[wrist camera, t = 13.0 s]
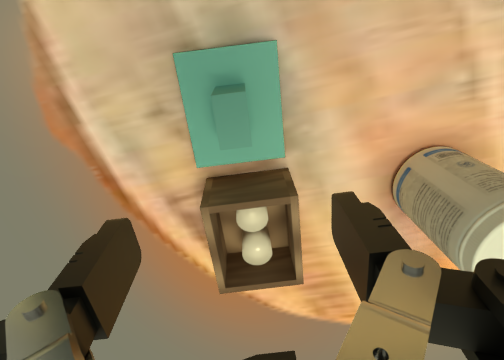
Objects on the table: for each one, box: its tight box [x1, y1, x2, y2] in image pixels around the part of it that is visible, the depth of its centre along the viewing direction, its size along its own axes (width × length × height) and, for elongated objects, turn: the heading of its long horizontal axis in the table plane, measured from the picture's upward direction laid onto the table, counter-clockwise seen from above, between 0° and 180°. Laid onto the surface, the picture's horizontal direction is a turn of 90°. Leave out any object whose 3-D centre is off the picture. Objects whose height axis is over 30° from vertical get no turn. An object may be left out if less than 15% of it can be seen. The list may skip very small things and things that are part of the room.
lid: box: [173, 40, 285, 168], centre depth 30 cm, size 12×10×7 cm
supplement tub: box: [393, 146, 504, 272], centre depth 31 cm, size 10×10×15 cm
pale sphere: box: [242, 226, 272, 265], centre depth 38 cm, size 4×4×4 cm
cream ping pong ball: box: [236, 207, 268, 232], centre depth 36 cm, size 4×4×4 cm
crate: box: [200, 168, 304, 294], centre depth 36 cm, size 12×10×7 cm
